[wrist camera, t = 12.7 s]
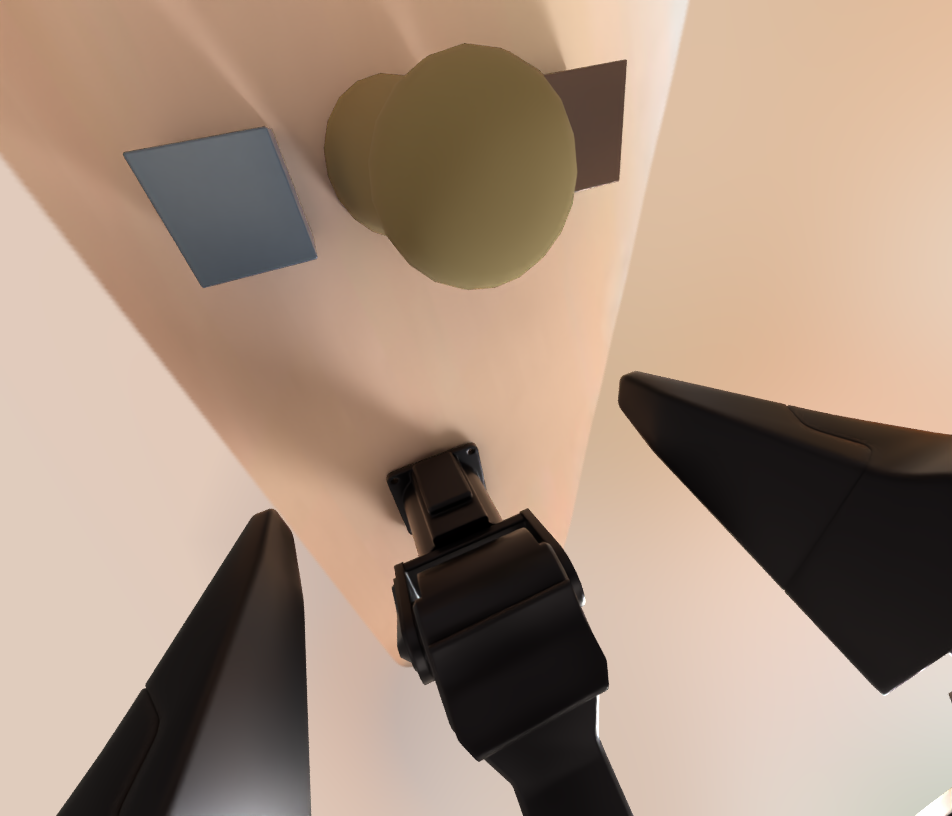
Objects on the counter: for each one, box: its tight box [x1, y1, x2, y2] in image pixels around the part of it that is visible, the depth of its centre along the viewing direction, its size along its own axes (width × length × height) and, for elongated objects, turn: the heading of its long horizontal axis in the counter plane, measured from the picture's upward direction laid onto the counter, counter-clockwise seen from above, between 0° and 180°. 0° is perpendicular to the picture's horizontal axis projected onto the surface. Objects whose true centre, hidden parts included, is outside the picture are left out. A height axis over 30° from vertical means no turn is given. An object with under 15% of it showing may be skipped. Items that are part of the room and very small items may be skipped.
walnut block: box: [543, 60, 627, 193], centre depth 17 cm, size 4×4×4 cm
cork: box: [324, 43, 577, 290], centre depth 13 cm, size 6×6×11 cm
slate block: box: [123, 126, 317, 288], centre depth 14 cm, size 4×4×4 cm
